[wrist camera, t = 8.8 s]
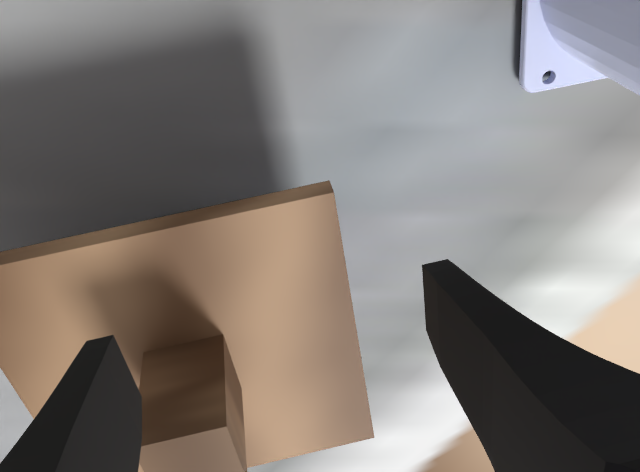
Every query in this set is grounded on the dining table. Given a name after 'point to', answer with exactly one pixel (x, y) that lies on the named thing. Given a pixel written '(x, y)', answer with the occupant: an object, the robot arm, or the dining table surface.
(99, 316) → the lid
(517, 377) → the robot arm
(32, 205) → the dining table surface
